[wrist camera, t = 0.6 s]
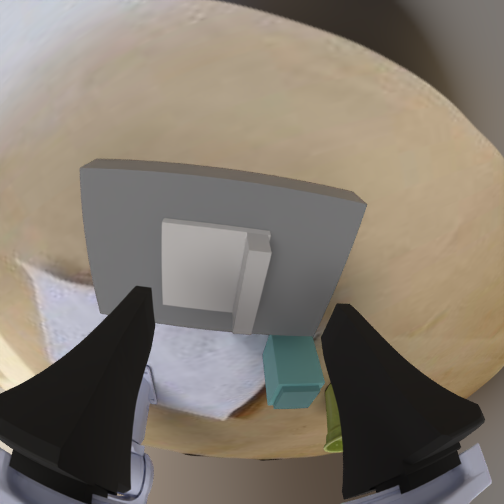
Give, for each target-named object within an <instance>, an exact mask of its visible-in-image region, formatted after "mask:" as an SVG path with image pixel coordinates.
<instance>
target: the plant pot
mask: <svg viewBox="0 0 504 504" xmlns="http://www.w3.org/2000/svg"><path fill="white" fill-rule="evenodd" d="M325 399H326V411H327V428H328V434H327V436H326V444H325V445H324V451H326V452H343V445H342V434H341V425H340V418H339V411H338V407H337V402H336V399H335V395H334V392H333V388H332V385H331V384H330V385H329V386H328V388H327V390H326V391H325Z"/></svg>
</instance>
